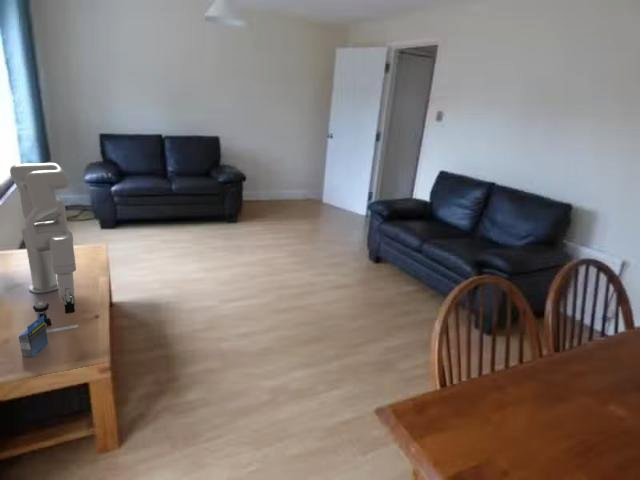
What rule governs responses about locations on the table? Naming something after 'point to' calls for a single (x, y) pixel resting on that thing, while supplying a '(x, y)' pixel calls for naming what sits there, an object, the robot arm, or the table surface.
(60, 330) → the flat metal tool blade
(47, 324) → the push button
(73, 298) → the awl
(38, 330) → the label tape cartridge
